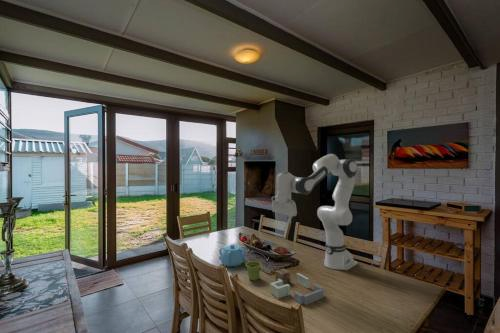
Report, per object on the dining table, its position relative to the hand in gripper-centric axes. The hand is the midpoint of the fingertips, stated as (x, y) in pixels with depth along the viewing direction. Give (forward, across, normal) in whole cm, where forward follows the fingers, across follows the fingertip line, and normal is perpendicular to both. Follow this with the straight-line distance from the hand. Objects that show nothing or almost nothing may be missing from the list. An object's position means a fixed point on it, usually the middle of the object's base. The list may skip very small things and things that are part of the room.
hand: (284, 221), depth 150 cm
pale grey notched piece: (+34, -13, +7) cm, 37 cm away
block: (+34, -4, +4) cm, 34 cm away
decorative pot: (+34, +36, +17) cm, 53 cm away
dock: (+34, -26, +4) cm, 43 cm away
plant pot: (+34, +9, +16) cm, 39 cm away
